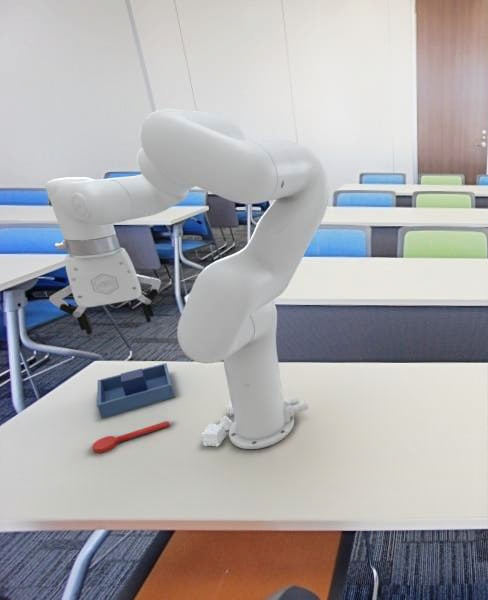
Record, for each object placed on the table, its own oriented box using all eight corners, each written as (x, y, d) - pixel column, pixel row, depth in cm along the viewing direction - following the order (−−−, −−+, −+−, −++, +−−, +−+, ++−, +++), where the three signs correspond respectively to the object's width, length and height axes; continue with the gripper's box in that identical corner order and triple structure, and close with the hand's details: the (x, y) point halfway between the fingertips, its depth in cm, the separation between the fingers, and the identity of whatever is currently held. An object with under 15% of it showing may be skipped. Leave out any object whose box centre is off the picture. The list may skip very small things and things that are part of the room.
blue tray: (169, 374, 101) (166, 362, 99) (175, 397, 93) (171, 384, 91) (102, 392, 93) (97, 380, 92) (101, 418, 85) (97, 405, 84)
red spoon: (169, 420, 86) (167, 416, 85) (171, 430, 83) (169, 425, 83) (93, 444, 78) (91, 440, 78) (93, 456, 76) (91, 451, 75)
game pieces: (219, 447, 79) (217, 434, 78) (203, 446, 79) (199, 434, 78) (247, 408, 90) (244, 396, 89) (232, 408, 90) (229, 396, 89)
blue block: (147, 385, 95) (142, 368, 93) (148, 394, 93) (143, 376, 91) (126, 391, 93) (120, 373, 91) (127, 400, 90) (121, 382, 88)
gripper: (27, 257, 68) (62, 344, 75) (150, 243, 78) (172, 321, 85) (33, 247, 74) (66, 330, 80) (148, 235, 83) (168, 310, 90)
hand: (120, 325), depth 82 cm, fingers open, 9 cm apart
